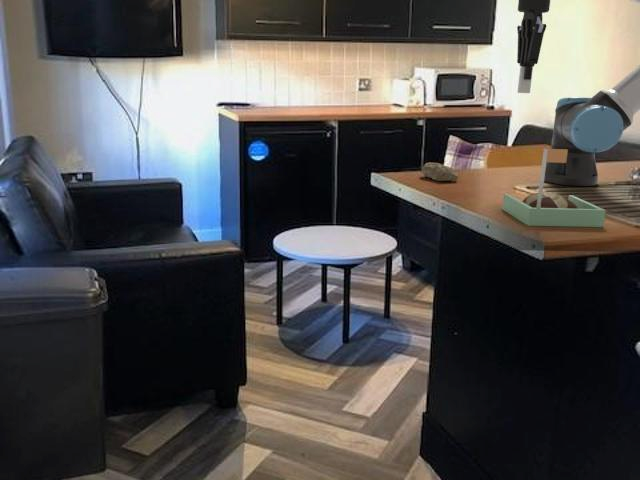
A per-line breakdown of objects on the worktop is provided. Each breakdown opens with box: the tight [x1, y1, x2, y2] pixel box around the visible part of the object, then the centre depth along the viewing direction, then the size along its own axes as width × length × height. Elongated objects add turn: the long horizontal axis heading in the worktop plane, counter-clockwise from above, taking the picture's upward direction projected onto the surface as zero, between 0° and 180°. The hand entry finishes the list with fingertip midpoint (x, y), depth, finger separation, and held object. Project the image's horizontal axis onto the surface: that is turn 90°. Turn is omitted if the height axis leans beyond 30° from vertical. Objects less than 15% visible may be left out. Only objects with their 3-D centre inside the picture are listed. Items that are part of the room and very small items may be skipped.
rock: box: [421, 162, 459, 183], centre depth 187 cm, size 8×11×4 cm
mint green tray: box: [501, 148, 607, 228], centre depth 143 cm, size 16×15×16 cm
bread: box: [522, 192, 578, 209], centre depth 146 cm, size 11×11×5 cm
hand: (523, 92), depth 174 cm, fingers closed
